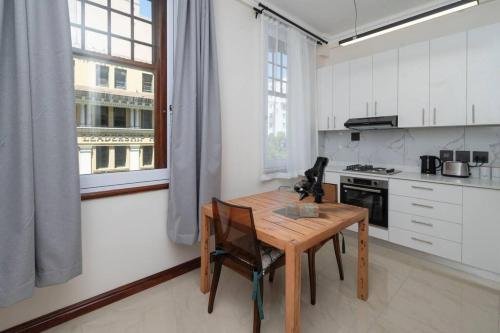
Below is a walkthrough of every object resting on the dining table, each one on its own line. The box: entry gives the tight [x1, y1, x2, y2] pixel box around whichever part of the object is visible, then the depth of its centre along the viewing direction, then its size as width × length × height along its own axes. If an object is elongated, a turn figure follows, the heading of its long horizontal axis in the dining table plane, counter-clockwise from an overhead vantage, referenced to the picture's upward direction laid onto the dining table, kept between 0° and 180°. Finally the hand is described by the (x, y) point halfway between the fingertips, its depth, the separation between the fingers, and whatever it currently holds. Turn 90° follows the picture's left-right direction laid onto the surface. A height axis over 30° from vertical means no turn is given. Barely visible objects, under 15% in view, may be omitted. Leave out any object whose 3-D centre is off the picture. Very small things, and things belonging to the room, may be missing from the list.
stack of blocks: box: [285, 202, 320, 218], centre depth 168 cm, size 21×6×12 cm
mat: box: [271, 207, 303, 220], centre depth 171 cm, size 14×22×1 cm, turn 38°
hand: (299, 200), depth 177 cm, fingers closed
